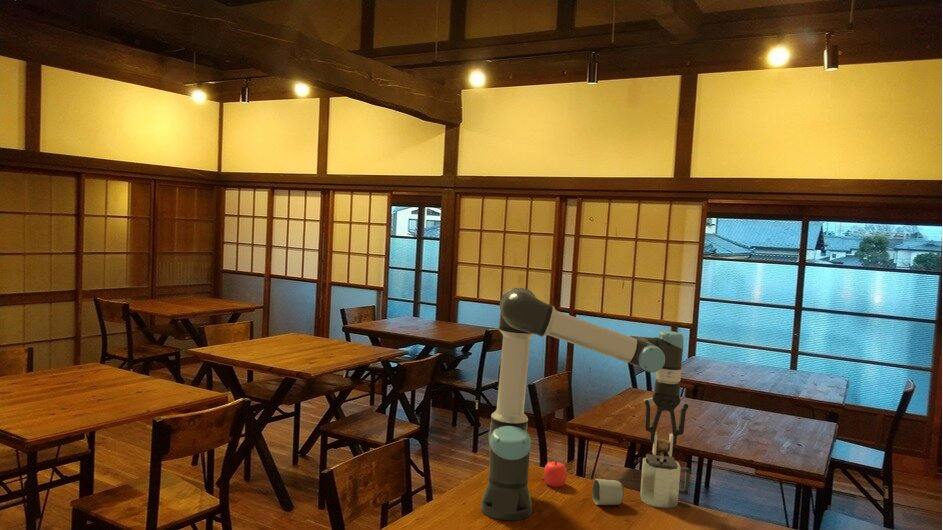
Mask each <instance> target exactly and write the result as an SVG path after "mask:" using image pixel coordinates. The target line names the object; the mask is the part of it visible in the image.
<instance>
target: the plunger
mask: <svg viewBox="0 0 943 530" xmlns="http://www.w3.org/2000/svg"><path fill="white" fill-rule="evenodd" d="M669 445H670V441H669V439H666V438H657V447H656V452H657V451H658V452H660V455H659V456H660V462H663V458H664V456H665V453H668V452H669ZM659 468H663V467H659Z"/></svg>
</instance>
